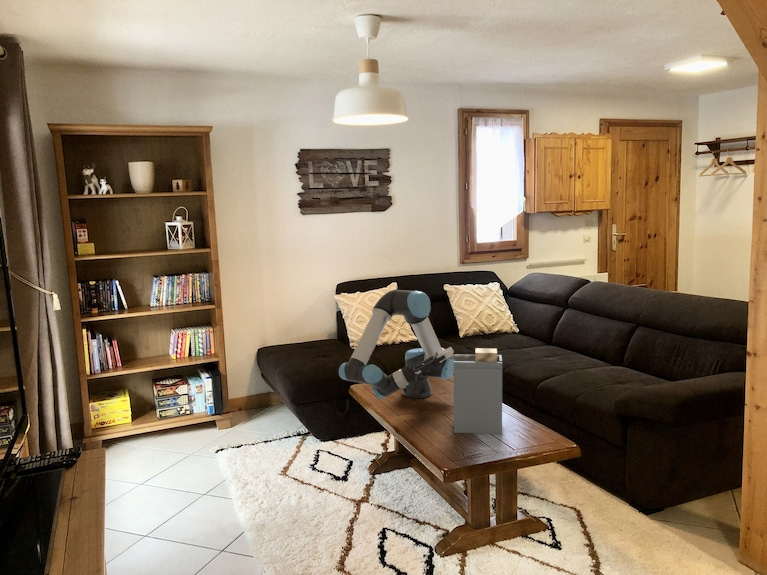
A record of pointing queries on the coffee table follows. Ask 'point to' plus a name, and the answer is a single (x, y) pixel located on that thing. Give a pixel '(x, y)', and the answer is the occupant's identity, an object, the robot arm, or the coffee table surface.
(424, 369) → the robot arm
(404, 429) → the coffee table surface
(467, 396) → the shelf
